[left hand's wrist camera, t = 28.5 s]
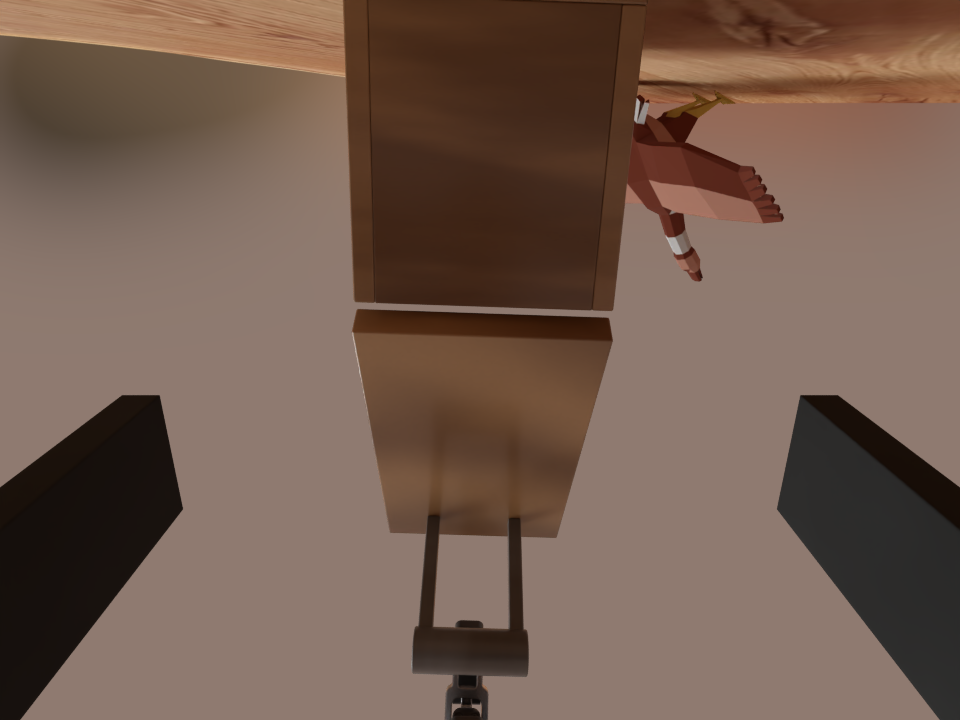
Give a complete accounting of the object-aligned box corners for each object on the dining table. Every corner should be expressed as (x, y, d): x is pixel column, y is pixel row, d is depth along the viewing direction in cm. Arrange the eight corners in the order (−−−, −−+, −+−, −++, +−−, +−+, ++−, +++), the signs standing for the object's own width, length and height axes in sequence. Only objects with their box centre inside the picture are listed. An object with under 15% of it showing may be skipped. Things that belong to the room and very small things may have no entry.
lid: (555, 518, 37) (566, 688, 31) (391, 513, 37) (371, 682, 31) (609, 317, 24) (647, 543, 18) (356, 308, 24) (308, 532, 18)
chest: (575, 50, 35) (560, 242, 39) (404, 43, 35) (405, 237, 39) (650, -24, 19) (613, 311, 23) (341, -37, 19) (353, 302, 23)
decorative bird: (672, 136, 71) (617, 256, 74) (548, 56, 63) (490, 195, 65) (913, 138, 46) (817, 319, 49) (761, 6, 38) (655, 234, 40)
